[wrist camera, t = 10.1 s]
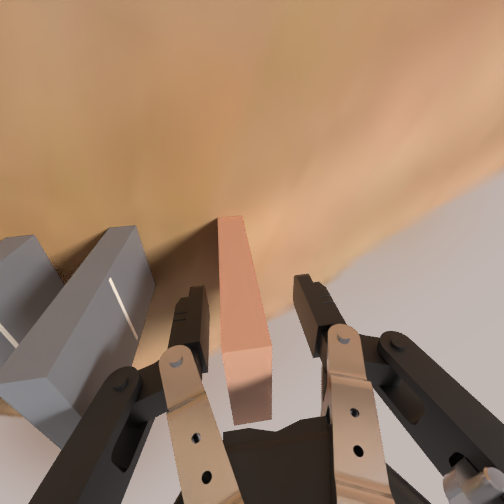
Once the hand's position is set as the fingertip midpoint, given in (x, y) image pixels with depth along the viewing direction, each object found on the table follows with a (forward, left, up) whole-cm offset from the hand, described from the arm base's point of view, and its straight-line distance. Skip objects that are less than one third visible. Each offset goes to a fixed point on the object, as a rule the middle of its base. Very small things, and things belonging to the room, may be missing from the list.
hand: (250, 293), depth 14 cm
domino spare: (+1, 0, -5) cm, 5 cm away
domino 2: (+7, 0, -5) cm, 9 cm away
